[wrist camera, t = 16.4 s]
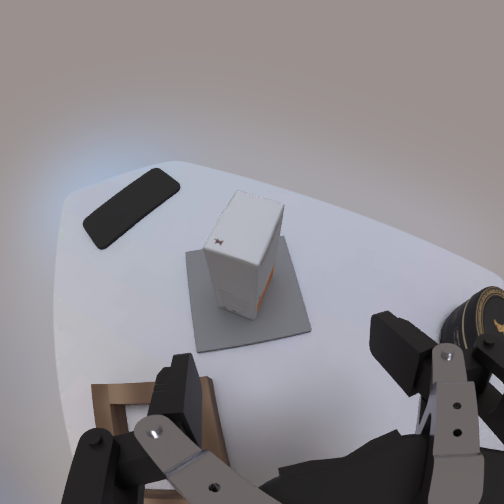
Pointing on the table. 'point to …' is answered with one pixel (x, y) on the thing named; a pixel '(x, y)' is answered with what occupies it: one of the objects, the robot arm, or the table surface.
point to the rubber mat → (239, 327)
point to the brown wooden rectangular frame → (118, 395)
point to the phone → (129, 207)
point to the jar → (476, 319)
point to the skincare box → (244, 252)
